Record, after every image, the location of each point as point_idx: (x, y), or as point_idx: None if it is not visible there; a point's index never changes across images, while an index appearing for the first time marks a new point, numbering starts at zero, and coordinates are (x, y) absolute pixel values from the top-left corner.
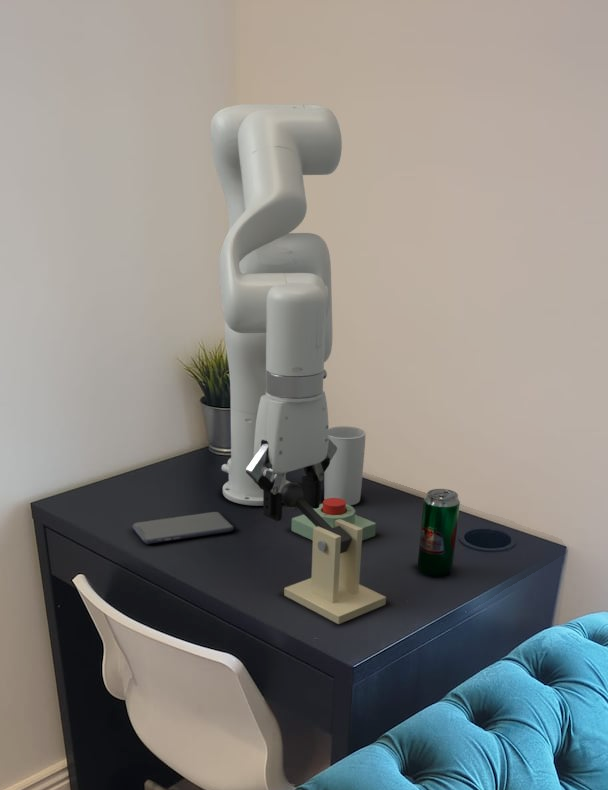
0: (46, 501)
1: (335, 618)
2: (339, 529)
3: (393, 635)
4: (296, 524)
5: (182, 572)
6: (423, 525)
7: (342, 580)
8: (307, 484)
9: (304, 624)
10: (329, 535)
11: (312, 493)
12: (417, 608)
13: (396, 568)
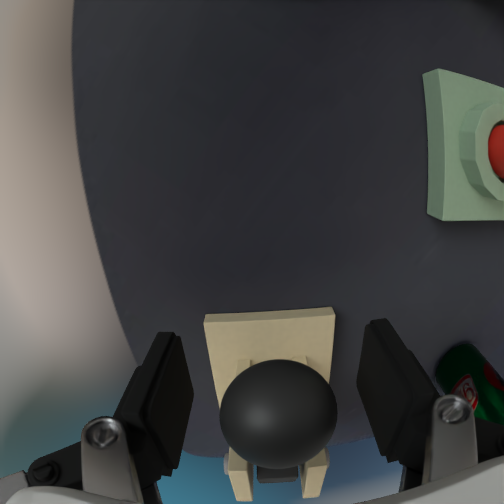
0: None
1: None
2: (287, 479)
3: None
4: (435, 86)
5: (91, 110)
6: (475, 411)
7: None
8: (389, 411)
9: None
10: (235, 493)
11: (373, 410)
12: (344, 426)
13: (434, 332)
